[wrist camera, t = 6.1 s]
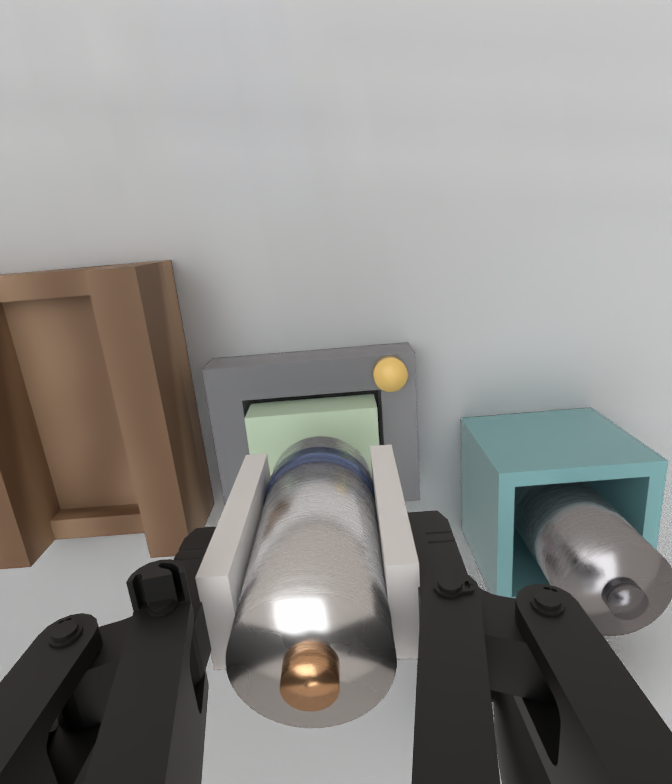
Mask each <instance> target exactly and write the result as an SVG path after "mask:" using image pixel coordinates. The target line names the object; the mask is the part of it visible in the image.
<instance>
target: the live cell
mask: <svg viewBox="0 0 672 784" xmlns="http://www.w3.org/2000/svg"><path fill="white" fill-rule="evenodd" d="M263 506H264V507H263V511H262V515H261V519H260V522H259V526H258V530H257V534H256V538H255V541H254V545H253V549H252V553H251V557H250V560H249V564H248V568H247V572H246V576H245V580H244V583H243V587H242V591H241V595H240V599H239V602H238V606H237V610H236V614H235V618H234V621H233V625H232V629H231V633H230V637H229V640H228V644H227V649H226V657H225V663H226V671H227V674H228V678H229V680H230V682H231V684H232V687H233V688H234V690H235V691H236V693H237V694H238V696H239V697H240V698H241V699H242V700H243V701H244V702H245V703H246V704H247V705H248V706H249V707H250V708H252V709H253V710H255V711H256V712H257V713H259V714H261V715H263V716H264V717H266V718H268V719H271V720H273V721H276V722H278V723H282V724H285V725H289V726H294V727H302V728H323V727H331V726H335V725H340V724H343V723H346V722H349V721H352V720H354V719H356V718H358V717H360V716H362V715H364V714H365V713H367V712H368V711H370V710H371V709H372V708H374V707H375V706H376V705H377V704H378V703H379V702H380V701H381V700H382V699H383V698H384V696H385V695H386V694H387V692H388V691H389V689H390V687H391V685H392V683H393V680H394V677H395V673H396V668H397V656H396V649H395V642H394V635H393V628H392V620H391V613H390V607H389V603H388V599H387V591H386V583H385V576H384V568H383V560H382V552H381V545H380V537H379V529H378V522H377V514H376V507H375V495H374V487H373V481H372V478H371V472H370V469H369V466H368V464H367V462H366V460H365V459H364V457H363V456H362V454H361V453H360V452H359V451H358V450H357V449H356V448H354V447H353V446H352V445H350V444H349V443H347V442H345V441H343V440H340V439H337V438H333V437H326V436H316V437H309V438H306V439H303V440H300V441H298V442H296V443H294V444H292V445H291V446H290V447H288V448H287V449H286V450H285V451H284V452H283V453H282V454H281V456H280V457H279V458H278V460H277V462H276V464H275V466H274V469H273V473H272V475H271V477H270V480H269V482H268V486H267V490H266V493H265V497H264V502H263Z"/></svg>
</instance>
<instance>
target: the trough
mask: <svg viewBox="0 0 672 784" xmlns="http://www.w3.org/2000/svg"><path fill="white" fill-rule="evenodd" d="M213 505H214V500H213V494H212V489H211V483H210V477H209V472H208V466H207V461H206V455H205V449H204V444H203V438H202V432H201V427H200V421H199V415H198V410H197V404H196V399H195V393H194V387H193V382H192V376H191V370H190V365H189V359H188V354H187V348H186V342H185V337H184V331H183V325H182V320H181V314H180V308H179V303H178V297H177V292H176V286H175V280H174V275H173V269H172V263H171V260H165V261H153V262H142V263H130V264H119V265H107V266H95V267H84V268H72V269H60V270H49V271H37V272H26V273H14V274H2V275H0V569H9V568H22V567H31V566H32V565H33V564H34V563H35V562H36V560H37V559H38V558H39V557H40V556H41V555H42V554H43V553H44V551H45V550H46V549H47V548H48V547H49V546H50V545H51V544H52V543H53V541H54V540H57V539H70V538H83V537H96V536H109V535H123V534H136V533H145V536H146V541H147V545H148V549H149V554H150V558H156V557H169V556H176V554H177V552H178V550H179V548H180V546H181V544H182V542H183V540H184V538H185V537H187V536H188V535H189V534H190V533H191V532H192V531H193V530H194V529H196V528H204V526H205V524H206V522H207V519H208V517H209V515H210V512H211V510H212V508H213Z"/></svg>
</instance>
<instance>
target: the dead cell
mask: <svg viewBox="0 0 672 784" xmlns="http://www.w3.org/2000/svg"><path fill="white" fill-rule="evenodd" d="M514 526H515V528H516V529H517V531H518V532H519V534H520V536H521V537H522V539H523V541H524V542H525V544H526V546H527V547H528V549H529V550H530V552H531V554H532V555H533V557H534V559H535V560H536V562H537V563H538V565H539V567H540V568H541V570H542V572H543V573H544V575H545V577H546V578H547V580H548V581H549V583H550V585H552V586H556V587H559V588H561V589H563V590H565V591H566V592H568V593H570V594H571V595H572V596H573V597H574V598H575V599H576V600H577V601H578V602H579V604H580V605H581V606H582V608H583V609H584V611H585V612H586V613H587V615H588V616H589V618H590V619H591V620H592V622H593V623H594V625H595V626H596V627H597V629H598V630H599V632H600V633H601V634H602V635H604V636H617V635H624V634H628V633H631V632H634V631H637V630H639V629H642V628H643V627H645V626H647V625H649V624H650V623H652V622H653V621H654V620H655V619H657V618H658V617H659V616H660V615H661V614H662V613H663V612H664V610H665V609H666V608H667V606H668V605H669V603H670V601H671V599H672V568H671V566H670V564H669V563H668V562H667V560H666V559H665V558H664V557H663V556H662V555H661V554H660V553H659V552H658V551H657V550H656V549H655V548H654V547H653V546H652V545H651V544H650V543H649V542H647V541H646V540H645V539H644V538H643V537H642V536H641V535H640V534H639V533H638V532H637V531H636V530H635V529H634V528H633V527H632V526H631V525H630V524H629V523H628V522H627V521H626V520H625V519H624V518H623V517H622V516H621V515H620V514H619V513H618V512H617V511H616V510H615V509H614V508H613V507H612V506H611V505H610V504H609V503H608V502H607V501H606V500H605V499H604V498H603V497H602V496H601V495H600V494H599V493H598V492H597V491H596V490H595V489H594V488H593V487H592V486H591V485H590V484H589V483H588V482H587V481H584V482H571V483H558V484H545V485H532V486H519V487H515V498H514Z"/></svg>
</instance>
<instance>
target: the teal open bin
mask: <svg viewBox="0 0 672 784" xmlns="http://www.w3.org/2000/svg"><path fill="white" fill-rule="evenodd" d="M667 465H668V460H666V459H665V458H664V457H662V456H661V455H659V454H658V453H656V452H655V451H653V450H652V449H650V448H649V447H648V446H646V445H645V444H643V443H642V442H640V441H639V440H637V439H636V438H635V437H633V436H632V435H630V434H629V433H627V432H626V431H624V430H623V429H621V428H620V427H619V426H617V425H616V424H614V423H613V422H611V421H610V420H608V419H607V418H606V417H604V416H603V415H601V414H600V413H598V412H597V411H595V410H594V409H592V408H579V409H567V410H554V411H542V412H529V413H516V414H504V415H491V416H478V417H466V418H461V489H462V531H463V534H464V536H465V538H466V541H467V543H468V545H469V548H470V550H471V552H472V555H473V557H474V559H475V562H476V564H477V566H478V569H479V571H480V573H481V575H482V578H483V580H484V582H485V585H486V587H487V589H488V592H489V593H491V594H495V595H499V596H504V597H510V598H516V596H517V593H518V591H519V590H521V589H522V588H523V587H525V586H528V585H532V584H548V585H550V583H549V581H548V580H547V578H546V577H545V575H544V573H543V572H542V570H541V568H540V567H539V565H538V563H537V562H536V560H535V559H534V557H533V555H532V554H531V552H530V550H529V549H528V547H527V546H526V544H525V542H524V541H523V539H522V537H521V536H520V534H519V532H518V531H517V529H516V528H515V526H514V498H515V487H519V486H532V485H545V484H558V483H571V482H584V481H587V482H588V483H589V484H590V485H591V486H592V487H593V488H594V489H595V490H596V491H597V492H598V493H599V494H600V495H601V496H602V497H603V498H604V499H605V500H606V501H607V502H608V503H609V504H610V505H611V506H612V507H613V508H614V509H615V510H616V511H617V512H618V513H619V514H620V515H621V516H622V517H623V518H624V519H625V520H626V521H627V522H628V523H629V524H630V525H631V526H632V527H633V528H634V529H635V530H636V531H637V532H638V533H639V534H640V535H641V536H642V537H643V538H644V539H645V540H646V541H647V542H649V543H650V544H651V545H652V546H653V547H654V548H655V549H656V548H657V541H658V533H659V525H660V518H661V510H662V503H663V495H664V487H665V480H666V472H667Z"/></svg>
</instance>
